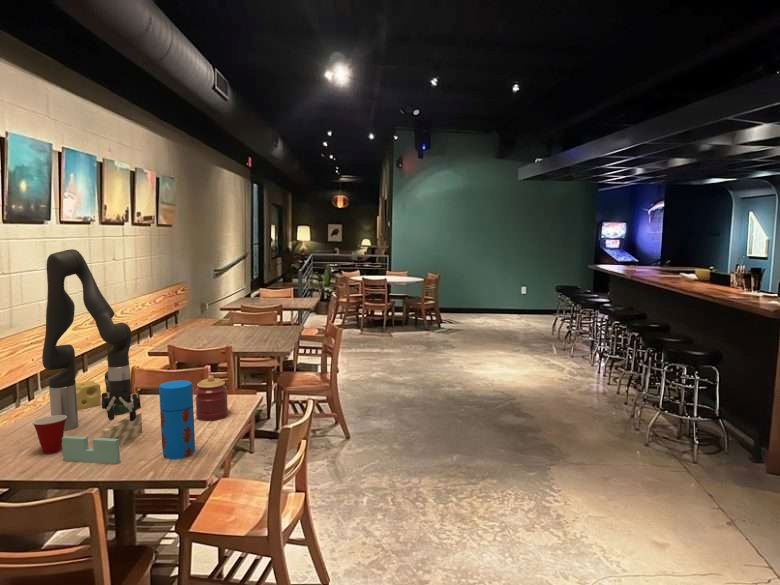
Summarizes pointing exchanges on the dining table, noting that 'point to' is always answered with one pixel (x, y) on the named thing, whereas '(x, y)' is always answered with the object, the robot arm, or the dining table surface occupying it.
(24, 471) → the dining table surface
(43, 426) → the plastic cup
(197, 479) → the dining table surface
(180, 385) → the thermos
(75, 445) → the sage green notched block
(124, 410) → the coffee jar
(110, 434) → the brass bar
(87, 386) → the cheese
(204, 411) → the canister
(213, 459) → the dining table surface
